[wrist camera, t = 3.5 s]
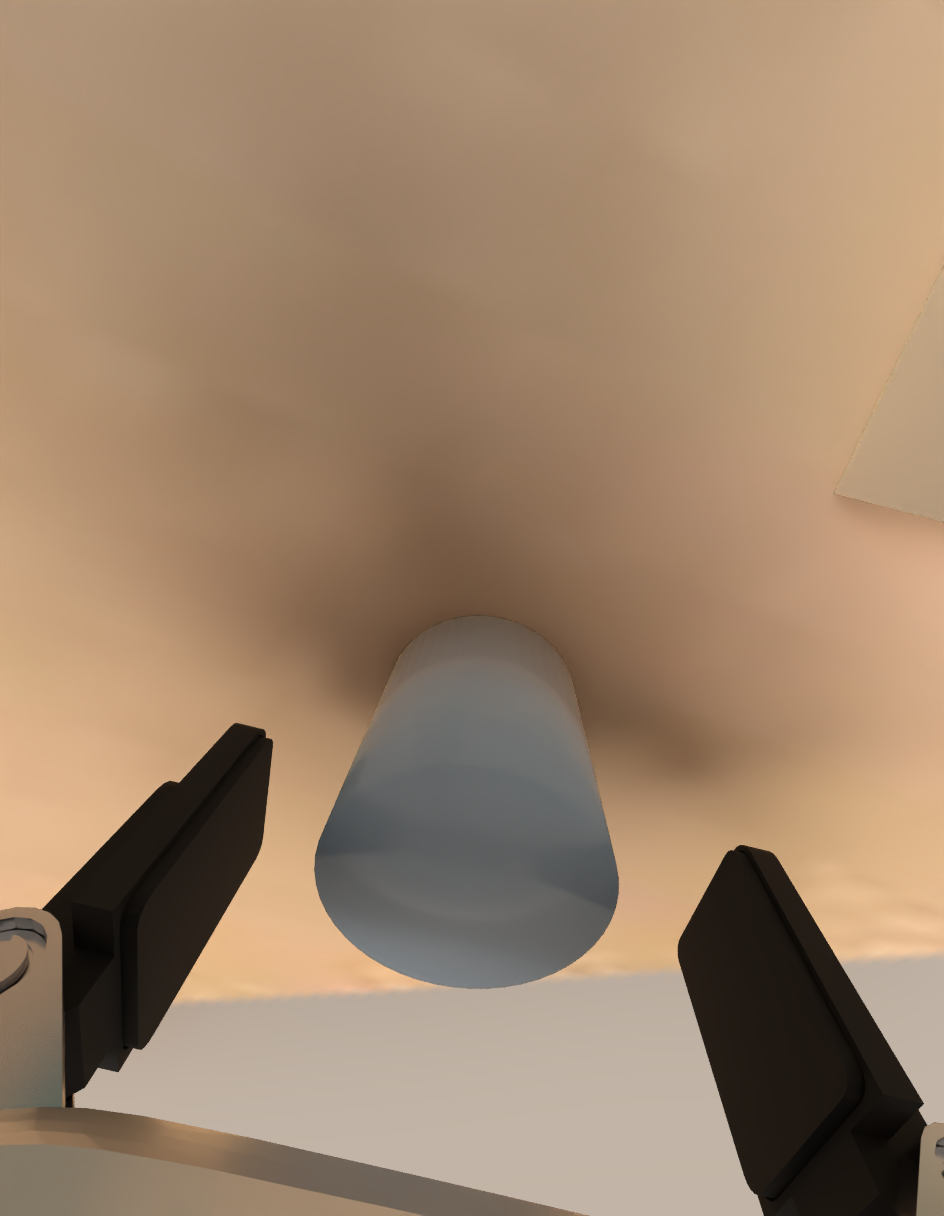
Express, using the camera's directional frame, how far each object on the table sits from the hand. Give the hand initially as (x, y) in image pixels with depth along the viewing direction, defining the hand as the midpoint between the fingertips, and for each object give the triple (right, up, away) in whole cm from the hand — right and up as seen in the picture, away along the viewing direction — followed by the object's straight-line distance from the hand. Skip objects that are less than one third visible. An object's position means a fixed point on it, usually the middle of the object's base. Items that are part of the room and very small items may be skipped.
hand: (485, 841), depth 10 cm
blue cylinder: (0, +2, +4) cm, 5 cm away
